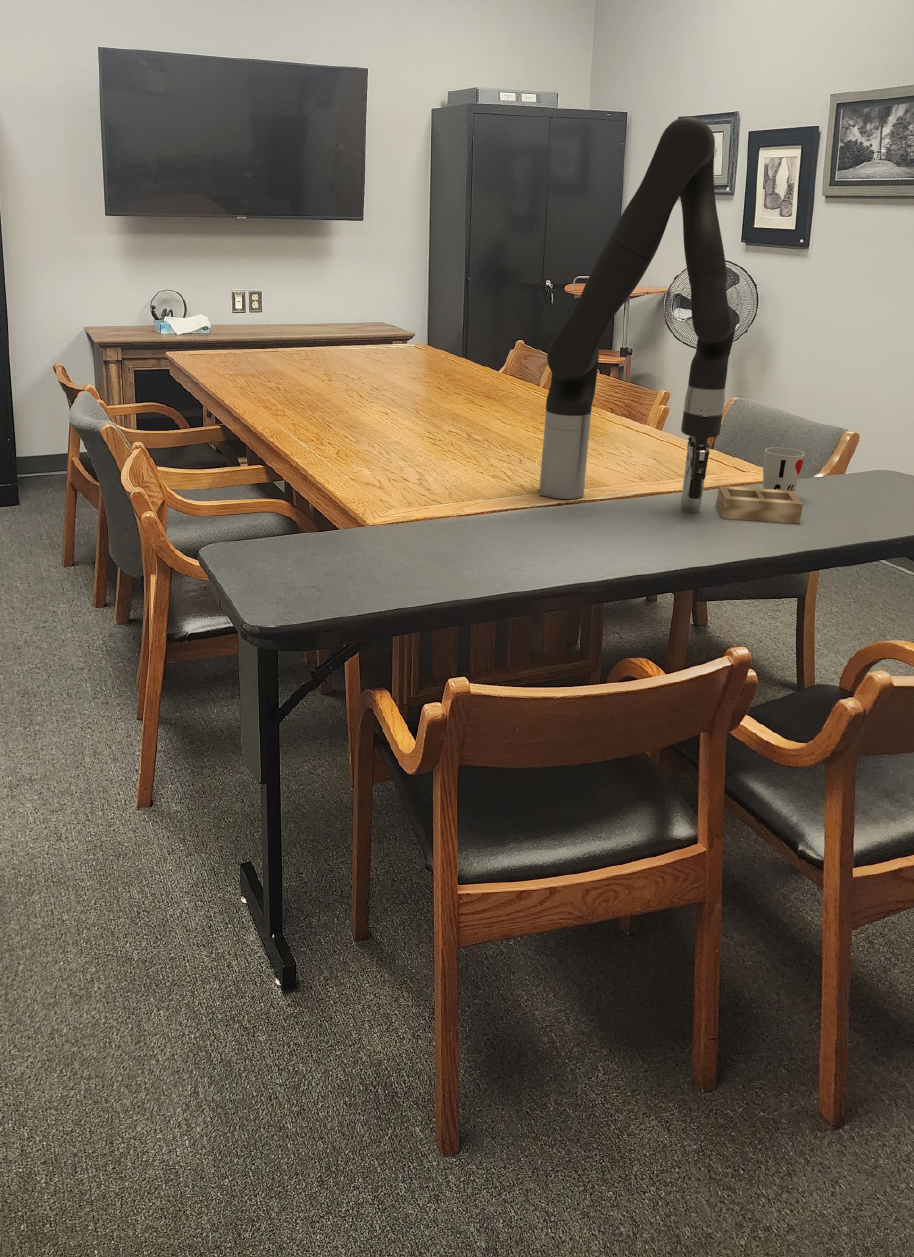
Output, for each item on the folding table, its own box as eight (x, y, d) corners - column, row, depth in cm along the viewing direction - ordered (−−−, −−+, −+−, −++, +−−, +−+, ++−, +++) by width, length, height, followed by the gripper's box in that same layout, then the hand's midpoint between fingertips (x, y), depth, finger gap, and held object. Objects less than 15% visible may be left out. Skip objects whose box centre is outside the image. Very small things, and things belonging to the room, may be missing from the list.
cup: (770, 503, 221) (778, 456, 218) (750, 493, 229) (757, 447, 225) (804, 502, 223) (812, 455, 220) (783, 492, 231) (791, 446, 227)
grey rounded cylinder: (680, 512, 212) (687, 463, 208) (678, 507, 216) (685, 459, 212) (700, 514, 212) (707, 465, 208) (698, 508, 215) (705, 460, 212)
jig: (722, 518, 210) (725, 498, 208) (716, 504, 219) (718, 485, 217) (799, 523, 208) (803, 504, 207) (789, 509, 218) (793, 490, 216)
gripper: (680, 402, 213) (670, 483, 219) (687, 416, 200) (676, 502, 206) (718, 404, 212) (706, 486, 219) (727, 418, 199) (715, 505, 206)
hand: (692, 493), depth 212 cm, fingers open, 5 cm apart
